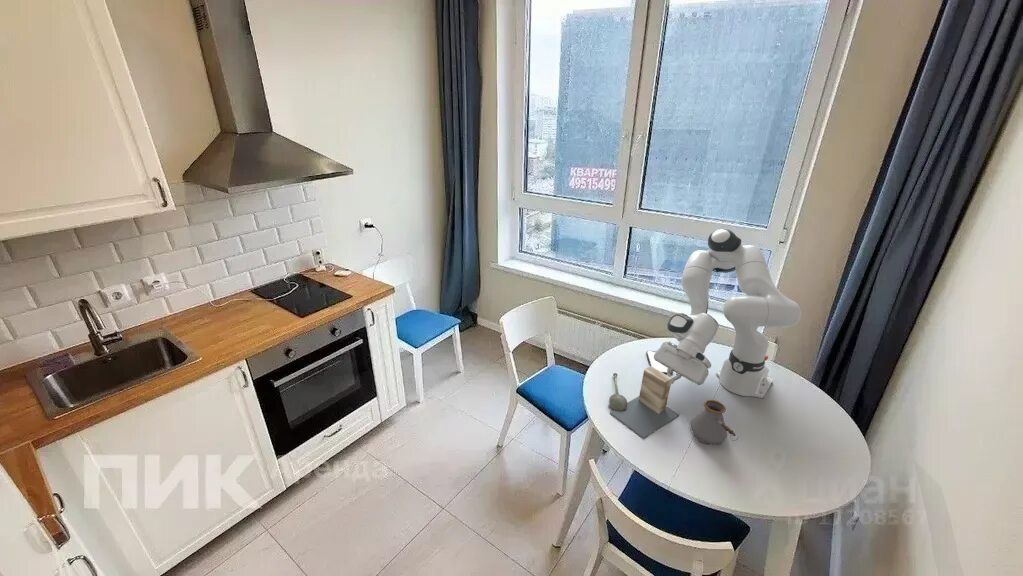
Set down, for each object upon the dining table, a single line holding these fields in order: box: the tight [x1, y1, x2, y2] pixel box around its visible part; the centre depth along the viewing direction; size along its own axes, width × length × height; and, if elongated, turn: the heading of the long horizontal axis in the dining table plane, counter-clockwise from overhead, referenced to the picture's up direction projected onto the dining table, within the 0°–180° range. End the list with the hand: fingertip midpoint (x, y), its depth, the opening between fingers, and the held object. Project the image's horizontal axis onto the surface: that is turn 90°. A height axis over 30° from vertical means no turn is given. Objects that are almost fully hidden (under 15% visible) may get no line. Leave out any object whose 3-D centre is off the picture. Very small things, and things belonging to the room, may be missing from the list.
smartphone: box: [645, 350, 674, 376], centre depth 178 cm, size 9×2×16 cm
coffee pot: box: [689, 399, 739, 445], centre depth 132 cm, size 21×12×15 cm, turn 174°
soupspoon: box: [608, 372, 628, 411], centre depth 159 cm, size 22×3×7 cm
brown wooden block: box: [638, 365, 673, 414], centre depth 150 cm, size 4×9×14 cm, turn 35°
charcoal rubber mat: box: [609, 395, 680, 440], centre depth 148 cm, size 20×15×1 cm
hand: (668, 381), depth 154 cm, fingers closed
